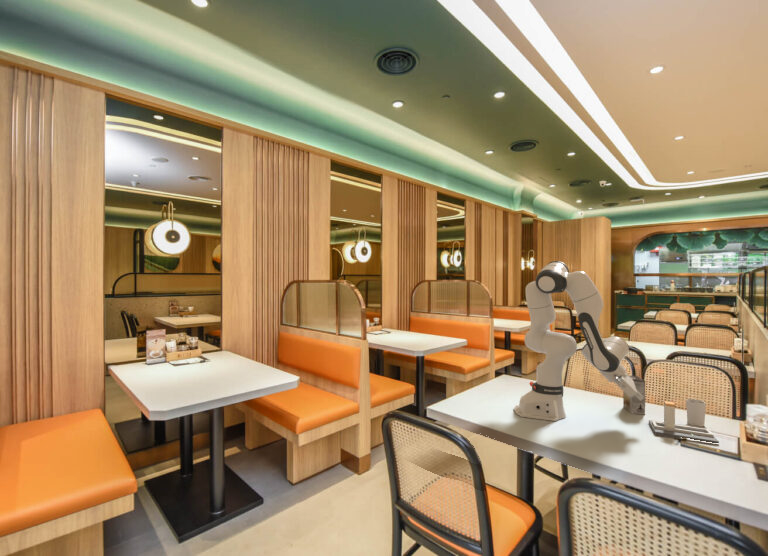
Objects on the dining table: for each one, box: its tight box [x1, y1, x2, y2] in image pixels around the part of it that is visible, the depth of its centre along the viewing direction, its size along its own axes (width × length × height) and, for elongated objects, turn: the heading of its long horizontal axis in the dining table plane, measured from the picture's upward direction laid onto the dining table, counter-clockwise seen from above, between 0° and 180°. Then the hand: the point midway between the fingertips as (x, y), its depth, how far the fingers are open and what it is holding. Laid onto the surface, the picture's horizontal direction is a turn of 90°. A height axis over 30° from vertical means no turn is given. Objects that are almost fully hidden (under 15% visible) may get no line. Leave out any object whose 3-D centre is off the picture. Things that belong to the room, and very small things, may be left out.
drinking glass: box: [685, 398, 707, 427], centre depth 164 cm, size 7×7×10 cm
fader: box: [663, 400, 676, 428], centre depth 155 cm, size 3×4×10 cm
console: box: [648, 419, 720, 443], centre depth 154 cm, size 20×14×2 cm
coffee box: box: [622, 375, 646, 415], centre depth 180 cm, size 9×6×16 cm
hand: (641, 398), depth 158 cm, fingers closed
